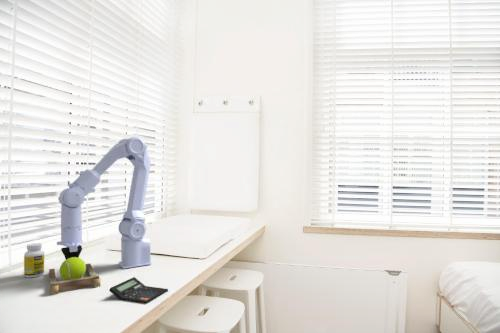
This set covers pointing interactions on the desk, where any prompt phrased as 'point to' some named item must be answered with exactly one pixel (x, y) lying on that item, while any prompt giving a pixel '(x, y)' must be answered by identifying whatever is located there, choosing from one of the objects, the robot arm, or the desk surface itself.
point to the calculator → (136, 291)
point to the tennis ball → (72, 268)
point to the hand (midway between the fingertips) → (71, 270)
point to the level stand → (73, 281)
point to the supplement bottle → (34, 260)
